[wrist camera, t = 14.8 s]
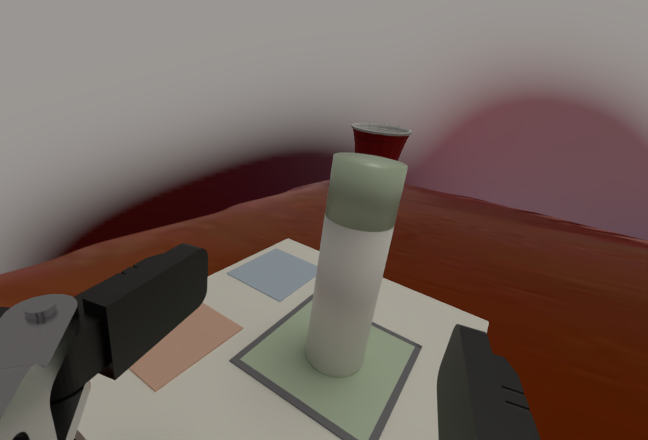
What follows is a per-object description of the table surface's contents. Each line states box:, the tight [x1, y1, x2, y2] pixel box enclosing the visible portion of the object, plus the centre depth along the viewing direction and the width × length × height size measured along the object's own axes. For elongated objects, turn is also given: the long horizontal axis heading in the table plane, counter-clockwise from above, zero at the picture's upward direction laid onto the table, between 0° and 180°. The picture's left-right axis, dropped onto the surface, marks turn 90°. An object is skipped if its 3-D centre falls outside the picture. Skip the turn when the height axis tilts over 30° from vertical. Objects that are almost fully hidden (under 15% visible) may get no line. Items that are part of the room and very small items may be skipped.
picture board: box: [75, 239, 489, 440], centre depth 21 cm, size 20×22×1 cm
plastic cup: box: [351, 123, 412, 161], centre depth 60 cm, size 11×11×12 cm
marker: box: [305, 153, 408, 377], centre depth 18 cm, size 4×4×12 cm
